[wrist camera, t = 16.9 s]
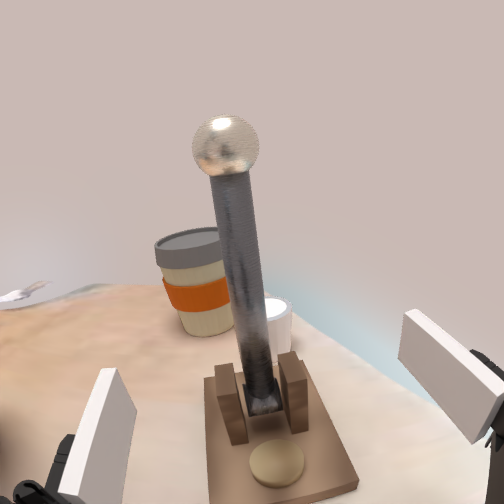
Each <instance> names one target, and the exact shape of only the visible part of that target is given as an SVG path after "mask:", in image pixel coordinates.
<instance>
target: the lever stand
mask: <svg viewBox="0 0 504 504" xmlns="http://www.w3.org/2000/svg"><path fill="white" fill-rule="evenodd" d="M277 357H278V365H277V366H273V374H274V377H276V378H277V381H278V384H279V388H280V392H281V397H282V403H283V411H279V412H274V413H269V414H264V415H259V416H254V417H249V416H248V411H247V406H246V401H245V396H244V391H243V386H242V383H245V378H244V373H243V372H239V373H234V368H233V363H229V364H223V365H216V366H214V367H215V376H214V377H207V378H204V401H205V431H206V454H207V472H208V488H209V502H210V504H309V503H312V502H316V501H320V500H323V499H327V498H330V497H334V496H337V495H340V494H343V493H346V492H349V491H352V490H355V489H356V488H357V485H358V482H359V478H358V476H357V474H356V472H355V469H354V467H353V465H352V463H351V461H350V459H349V457H348V455H347V453H346V450H345V448H344V446H343V444H342V442H341V440H340V438H339V436H338V434H337V431H336V429H335V427H334V425H333V423H332V421H331V419H330V417H329V415H328V412H327V410H326V408H325V406H324V404H323V402H322V400H321V398H320V396H319V393H318V391H317V389H316V387H315V385H314V383H313V381H312V379H311V377H310V374H309V372H308V370H307V368H306V366H305V364H304V362H303V360H300V361H299V359H298V357H297V355H296V353H295V351H292V352H288V353H283V354H278V355H277Z"/></svg>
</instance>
